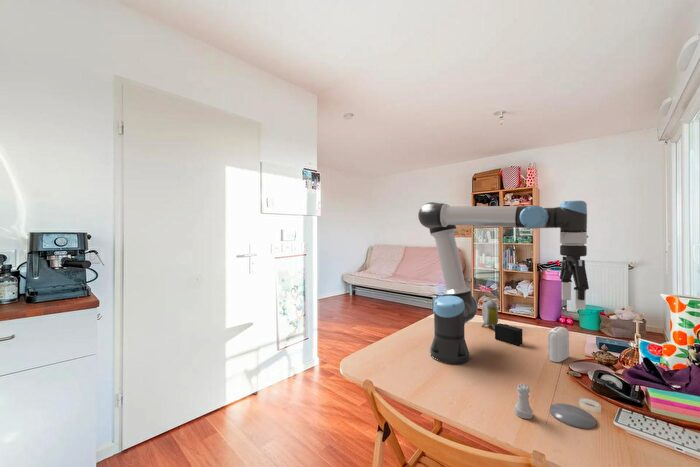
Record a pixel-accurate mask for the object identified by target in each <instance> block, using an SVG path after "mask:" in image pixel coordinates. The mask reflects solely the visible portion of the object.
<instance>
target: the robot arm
mask: <svg viewBox="0 0 700 467" xmlns="http://www.w3.org/2000/svg"><path fill="white" fill-rule="evenodd" d="M587 207H588V206H587V202H586V201H585V200H566V201H565V200H563V201H561V202H560V205H559V206H557V207H542V206H540V205H527V206H526V205H525V206H524V205H523V206H522V205H519V206H518V205H508V206H507V205H503V206H502V205H500V206H499V205H494V206H493V205H482V206H481V205H478V206H477V205H476V206H475V205H470V206H469V205H458V206H456V205H455V206H454V205H453V206H452V205H449V204H448V203H445V202H444V203H442V202H433V201H432V202H426V203H424V204H423V205H422V206H421V207H420V208H419V209H418V210H419V211H418V215H417V218H418V221H419V223H420V224H421V225H422V226H423V227H425V228H426V229H429V233H430V236H431V237H434V241H435V244H436V249H437V255H438V258H439V263H440V268H441V272H442V276H443V277H442V278H443V280H444V282H443V283H444V285H445V290H444V292H443V296H439V297H437V298H435V300H434V303H433V304H434V305H433V323H434V324H433V325H434V326H433V327H434V331H433V332H434V334H433V335H434V336H433V338H432V341H431V345H430V348H429V349H430V350H429V351H430V352H429V353H431V355H432V356H433V357H434V358H436V359H438V360H440V361H442V362H441V363H444V362H446V363H445V364H449V363H450V364H452V365H459V364H465V363H468V361H469V360H470V351H469V348H468V344H467V342H466V339H465V324H466V323H468V322H469V321H471V320H473V319H474V318H475V316H476V315H477V313H478V309H479V308H478V301H477V300H476V298H475V297H474V296H473V295H472V291H471V289H470V288H469V286H468V287H467V285H466V280H465V277H464V273H463V272H464V271H463V269H462V268H463V267H462V263H461V258H460V254H459V250H458V246H457V241H456V237H455V232H456V231H457V226H469V227H470V226H471V227H473V226H474V227H499V228H522V229H551V228H552V229H560V230H559V244H561V245H560V246H559V255H561V256H562V263H561V267H560V274H559V280H560V281H561V300H562V301H572V283H573V281H574V285H575V286H574V287H573V290H574V309H575V310H583V311H585V310H586V291H587V290H589V289H590V286H589V283H588V276H587V271H586V261H585V259H581V257H585V256H587V255H588V250H587V248H588V247H587V246H586V244H587V243H588V242H587V240H588V239H587V238H589V235H587V232H588V231H587V229H588V208H587ZM572 278H573V281H572ZM431 355H430V356H431ZM432 356H431V357H432ZM433 357H432V358H433ZM434 358H433V359H434ZM436 359H435V360H436ZM438 360H437V361H438ZM440 361H439V362H440Z"/></svg>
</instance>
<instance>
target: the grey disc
mask: <svg viewBox="0 0 700 467" xmlns="http://www.w3.org/2000/svg"><path fill="white" fill-rule="evenodd" d="M549 412H550V414H551V415H552V416H553V417H554V418H555V420H557V421H559V422H561V423H563V424H565V425H567V426H569V427H573V428H577V429H582V430H590V429H593V428H595V427H596V426H597V420H596V417H594V416H593V415H592V414H591V413H590V412H588V411H586V410H585V409H583V408H580V407H578V406H575V405H572V404H567V403H562V402H561V403H552V404H551V405H550V406H549Z"/></svg>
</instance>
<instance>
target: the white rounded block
mask: <svg viewBox="0 0 700 467" xmlns="http://www.w3.org/2000/svg"><path fill="white" fill-rule="evenodd" d="M547 336H548V339H547V340H548V341H547V342H548V345H547V346H548V353H547V354H548V359H549V361H551V362H554V363H562V362H563V361H565V360H567V359H568V358H569V357H570V334H569V330H568V329H567V328H565V327H564V326H555V327H553V328H552V329H551V330H550V331H549V333H548V334H547Z"/></svg>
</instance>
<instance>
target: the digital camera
mask: <svg viewBox="0 0 700 467" xmlns="http://www.w3.org/2000/svg"><path fill="white" fill-rule="evenodd" d="M495 339H496V341H498V340H499V341H498V342H501V343H506V344H509V345H512V346H515V347H520V346H522V345H523V328H519V327H516V326H512V325H509V324H506V323H499V322H498V323H497V324H496V325H495V330H494V340H495Z"/></svg>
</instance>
